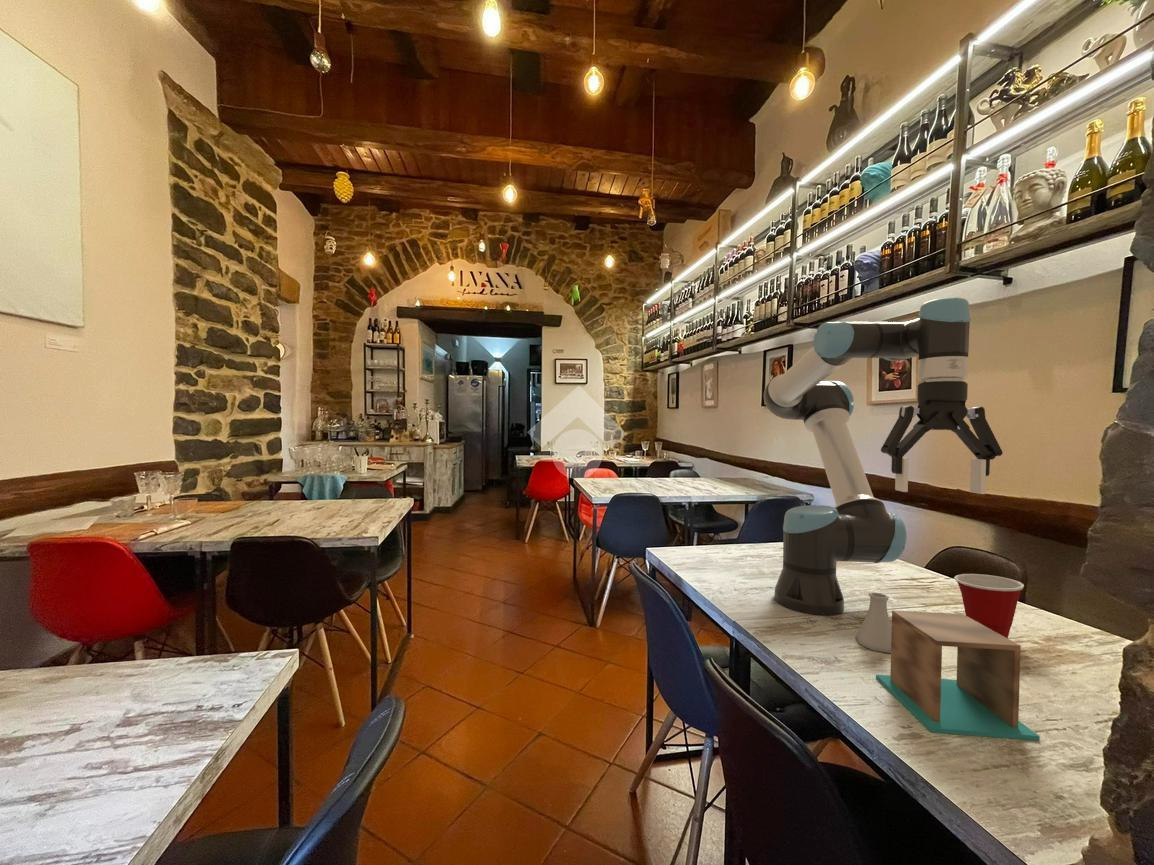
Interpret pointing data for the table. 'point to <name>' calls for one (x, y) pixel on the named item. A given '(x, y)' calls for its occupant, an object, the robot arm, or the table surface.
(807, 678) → the table surface
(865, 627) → the flask
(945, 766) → the table surface
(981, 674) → the brown wooden box frame
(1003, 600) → the plastic cup
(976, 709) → the mat
